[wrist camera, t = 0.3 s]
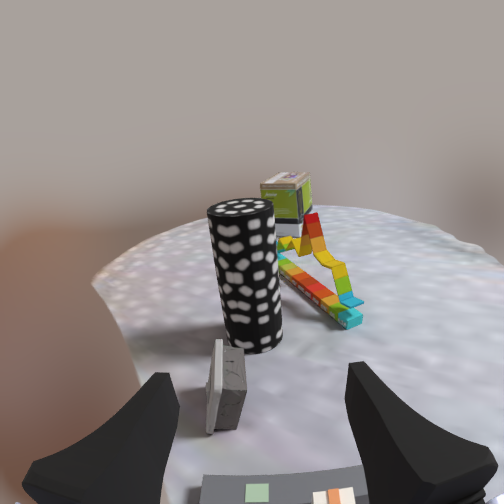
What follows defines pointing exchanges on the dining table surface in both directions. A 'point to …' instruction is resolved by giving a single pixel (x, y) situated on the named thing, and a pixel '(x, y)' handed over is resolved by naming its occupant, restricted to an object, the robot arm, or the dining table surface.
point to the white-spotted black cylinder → (247, 272)
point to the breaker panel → (282, 487)
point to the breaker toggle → (334, 496)
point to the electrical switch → (225, 387)
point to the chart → (322, 296)
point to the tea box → (289, 201)
